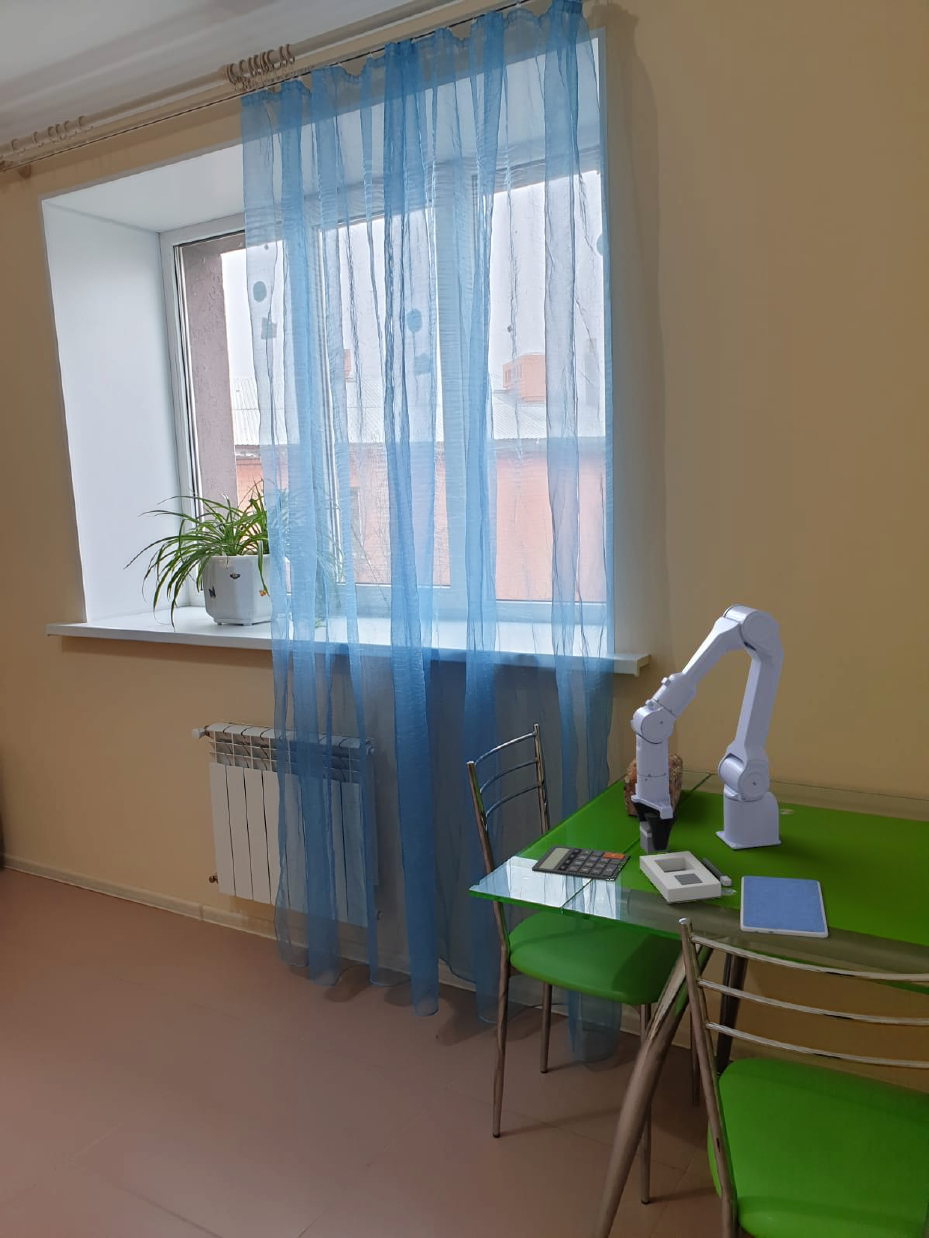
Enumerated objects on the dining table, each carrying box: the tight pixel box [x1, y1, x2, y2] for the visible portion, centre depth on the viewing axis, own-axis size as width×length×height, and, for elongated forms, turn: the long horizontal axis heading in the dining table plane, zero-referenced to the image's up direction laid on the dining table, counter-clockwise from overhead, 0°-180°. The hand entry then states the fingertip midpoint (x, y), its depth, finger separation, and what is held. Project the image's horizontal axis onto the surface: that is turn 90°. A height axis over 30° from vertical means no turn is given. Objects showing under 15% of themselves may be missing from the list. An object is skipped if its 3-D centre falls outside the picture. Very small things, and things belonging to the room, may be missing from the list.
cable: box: [702, 857, 732, 887], centre depth 166 cm, size 1×10×1 cm, turn 9°
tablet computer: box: [739, 875, 829, 939], centre depth 152 cm, size 19×13×1 cm, turn 164°
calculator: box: [531, 844, 631, 880], centre depth 173 cm, size 12×1×15 cm
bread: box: [623, 752, 684, 817], centre depth 202 cm, size 19×11×10 cm, turn 161°
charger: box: [639, 821, 670, 855], centre depth 177 cm, size 4×4×5 cm
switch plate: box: [639, 850, 722, 903], centre depth 162 cm, size 9×14×3 cm, turn 8°
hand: (654, 842), depth 177 cm, fingers open, 6 cm apart
